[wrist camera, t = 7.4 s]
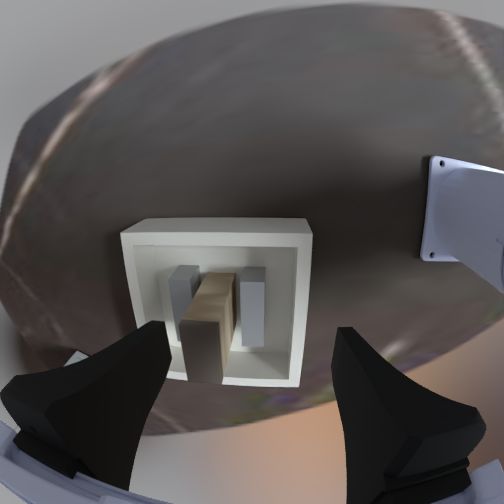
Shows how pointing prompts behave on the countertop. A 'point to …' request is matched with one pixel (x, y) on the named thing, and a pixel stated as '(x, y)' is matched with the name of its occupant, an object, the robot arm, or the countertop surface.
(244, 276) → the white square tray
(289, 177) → the countertop surface
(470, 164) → the robot arm
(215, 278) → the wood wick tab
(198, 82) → the countertop surface
